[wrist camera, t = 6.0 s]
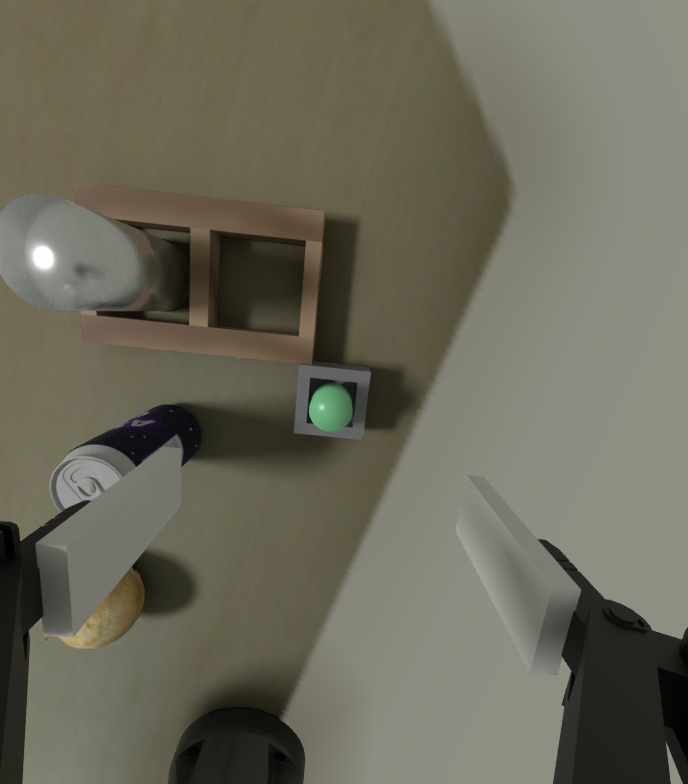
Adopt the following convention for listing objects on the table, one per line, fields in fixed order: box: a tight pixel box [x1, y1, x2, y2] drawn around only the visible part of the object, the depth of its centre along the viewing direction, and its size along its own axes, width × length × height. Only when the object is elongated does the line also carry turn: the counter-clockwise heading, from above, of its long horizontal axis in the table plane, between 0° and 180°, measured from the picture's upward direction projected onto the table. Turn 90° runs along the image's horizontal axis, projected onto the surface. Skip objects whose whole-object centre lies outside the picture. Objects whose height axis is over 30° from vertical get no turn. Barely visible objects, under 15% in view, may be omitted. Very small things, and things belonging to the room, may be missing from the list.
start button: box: [309, 382, 353, 432], centre depth 30 cm, size 3×3×3 cm
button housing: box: [294, 361, 371, 440], centre depth 32 cm, size 6×6×3 cm
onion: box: [41, 567, 145, 649], centre depth 34 cm, size 8×8×7 cm
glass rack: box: [74, 183, 326, 365], centre depth 30 cm, size 12×19×2 cm, turn 84°
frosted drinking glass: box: [0, 193, 190, 311], centre depth 25 cm, size 6×6×12 cm
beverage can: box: [50, 405, 201, 512], centre depth 28 cm, size 6×6×12 cm
